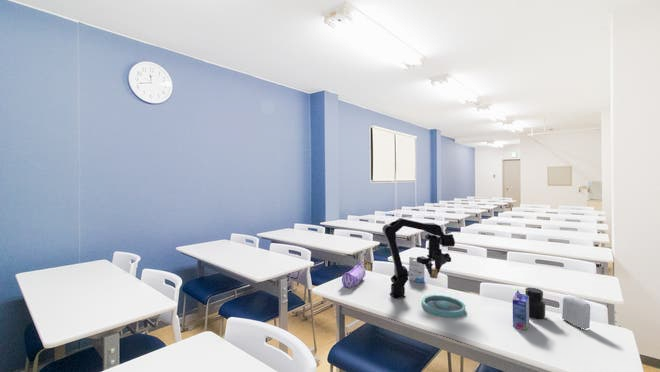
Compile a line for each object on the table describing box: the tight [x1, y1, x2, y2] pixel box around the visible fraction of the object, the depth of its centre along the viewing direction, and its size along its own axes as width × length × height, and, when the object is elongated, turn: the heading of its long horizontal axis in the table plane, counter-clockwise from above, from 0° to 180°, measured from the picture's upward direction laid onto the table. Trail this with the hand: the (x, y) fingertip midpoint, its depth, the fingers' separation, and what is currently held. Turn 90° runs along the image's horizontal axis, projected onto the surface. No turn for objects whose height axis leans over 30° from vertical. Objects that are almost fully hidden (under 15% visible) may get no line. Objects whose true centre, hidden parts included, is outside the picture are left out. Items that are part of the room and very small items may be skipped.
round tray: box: [421, 294, 466, 318], centre depth 148 cm, size 20×20×2 cm
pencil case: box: [341, 263, 366, 289], centre depth 183 cm, size 22×9×10 cm, turn 157°
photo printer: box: [561, 294, 591, 330], centre depth 132 cm, size 10×4×12 cm, turn 11°
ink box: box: [408, 256, 425, 284], centre depth 187 cm, size 8×5×15 cm, turn 39°
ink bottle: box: [524, 287, 546, 320], centre depth 141 cm, size 10×9×12 cm
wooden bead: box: [429, 267, 439, 279], centre depth 164 cm, size 4×4×4 cm
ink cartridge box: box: [512, 289, 530, 331], centre depth 132 cm, size 10×6×14 cm, turn 141°
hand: (433, 274), depth 164 cm, fingers closed on wooden bead, 4 cm apart
